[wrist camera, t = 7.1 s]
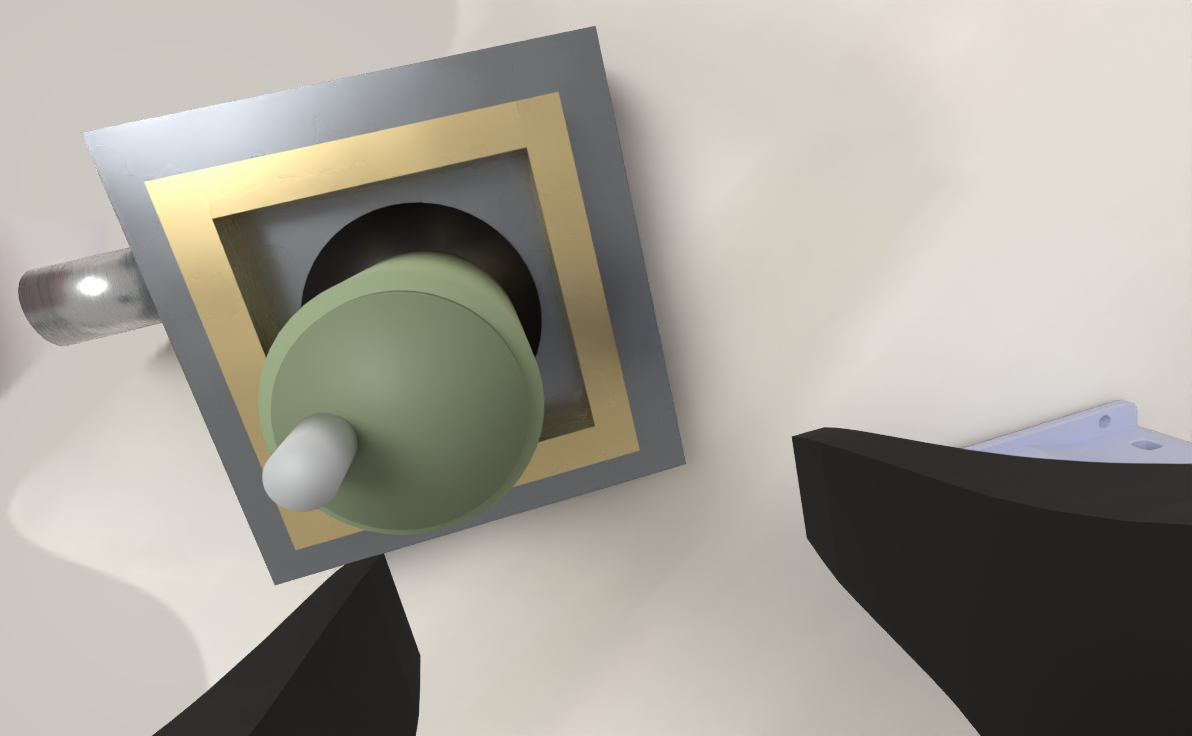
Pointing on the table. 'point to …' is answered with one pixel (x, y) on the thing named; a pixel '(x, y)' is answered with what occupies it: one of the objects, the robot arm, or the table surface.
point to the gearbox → (386, 256)
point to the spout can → (401, 397)
